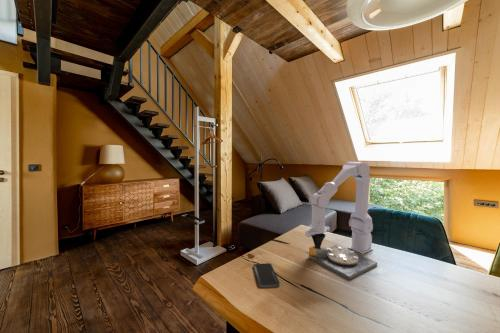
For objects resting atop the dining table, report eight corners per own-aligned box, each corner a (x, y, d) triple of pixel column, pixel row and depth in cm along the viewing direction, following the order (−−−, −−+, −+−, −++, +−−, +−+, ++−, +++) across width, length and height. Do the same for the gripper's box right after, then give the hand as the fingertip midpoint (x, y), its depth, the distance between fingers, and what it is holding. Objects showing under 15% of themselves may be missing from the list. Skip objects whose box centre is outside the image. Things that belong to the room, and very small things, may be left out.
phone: (258, 286, 75) (252, 264, 90) (258, 289, 75) (252, 266, 90) (280, 284, 76) (271, 263, 91) (280, 287, 76) (271, 265, 91)
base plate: (335, 248, 108) (336, 244, 108) (377, 265, 91) (377, 262, 91) (308, 258, 97) (308, 254, 97) (349, 280, 80) (349, 276, 80)
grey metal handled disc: (308, 247, 103) (308, 241, 103) (354, 252, 99) (354, 246, 99) (309, 260, 91) (309, 253, 91) (362, 267, 86) (362, 259, 86)
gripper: (321, 215, 105) (320, 242, 106) (300, 220, 97) (299, 249, 98) (334, 219, 99) (333, 247, 100) (312, 224, 91) (311, 255, 92)
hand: (317, 248), depth 98 cm, fingers closed
